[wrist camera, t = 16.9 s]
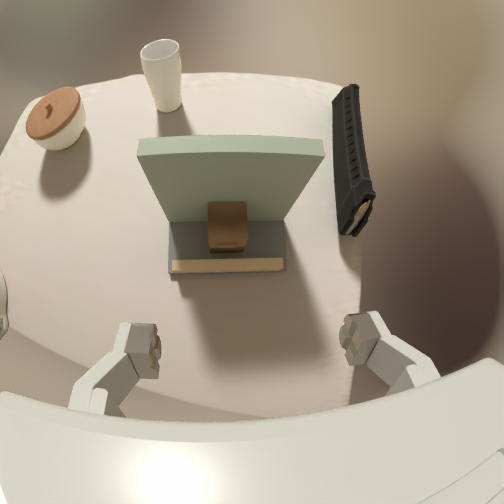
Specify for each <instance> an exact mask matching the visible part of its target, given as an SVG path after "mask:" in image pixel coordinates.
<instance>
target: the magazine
mask: <svg viewBox="0 0 504 504" xmlns="http://www.w3.org/2000/svg"><path fill="white" fill-rule="evenodd" d="M332 109H333V167H334V184H335V196H336V208H337V220H338V229H339V233H340V234H341V235H352V237H356V236H357V235H358V234H359V232H360V231H361V230H362V228H363V227H364V226H365V225H366V223H367V221H368V217H369V215H370V213H371V211H372V203H373V200H374V199H375V197H376V195H375V192H374V191H373V189H372V181H371V180H370V175H369V170H368V164H367V159H366V152H365V146H364V140H363V131H362V122H361V115H360V103H359V86H358V85H356V84H350V85H349V86H347V87H344V88H343V89H342V90H341V91H340V92H339V94H338V95H337V96H336V97H335V98H334V100H333V101H332Z"/></svg>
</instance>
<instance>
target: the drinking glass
mask: <svg viewBox="0 0 504 504" xmlns="http://www.w3.org/2000/svg"><path fill="white" fill-rule="evenodd" d="M140 57H141V63H142V68H143V71H144V74H145V77H146V80H147V82H148V85H149V88H150V90H151V93H152V95H153V98H154V101H155V105H156V108H157V109H158V110H159V111H161V112H172V111H174V110H176V109H178V108H179V106H180V105H181V102H182V98H181V55H180V48H179V44H178V43H177V42H176V41H174V40H168V39H163V40H157V41H154V42H151V43H150V44H148V45H146V46H145V47H144V48H143V49H142V50H141V52H140Z"/></svg>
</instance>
